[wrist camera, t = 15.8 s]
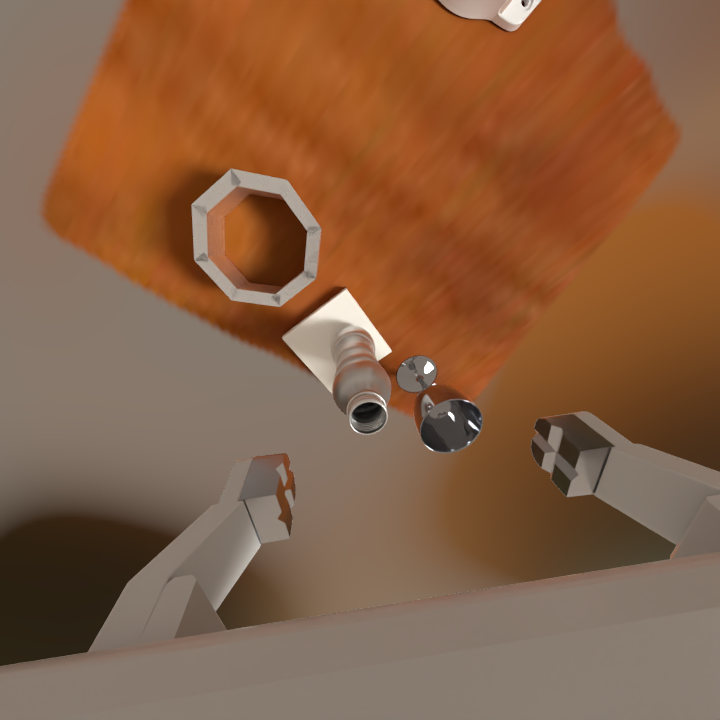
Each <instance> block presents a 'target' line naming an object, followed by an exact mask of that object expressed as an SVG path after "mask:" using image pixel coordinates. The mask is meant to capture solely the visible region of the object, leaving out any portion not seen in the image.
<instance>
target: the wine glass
mask: <svg viewBox="0 0 720 720" xmlns="http://www.w3.org/2000/svg"><path fill="white" fill-rule="evenodd" d="M436 377H437V367H436V364H435V363H434V362H433V360H431V359H430V358H428V357H426V356H413V357H410V358H408V359H407V360H405V361H404V362H403V363H402V364H401V365H400V367H399V369H398V371H397V382H398V384H399V386H400V387H401V388H402V389H403V390H404V391H406V392H409V393H419V394H418V395H417V397H416V399H415V402H414V407H413V413H414V420H415V424H416V427H417V430H418V433H419V435H420V437H421V439H422V441H423V442H424V444H425V445H426V446H427V447H428V448H429V449H431V450H432V451H435V452H438V453H453V452H457V451H460V450H462V449H464V448H466V447H467V446H469V445H470V444H471V443H472V442H474V440H475V439H476V438H477V437H478V435H479V434H480V432H481V429H482V425H483V417H482V414H481V412H480V410H479V409H478V408H477V406H476V405H475V404H474V403H473V402H472V400H471V399H469V398H468V397H467V396H466V395H465V394H464V393H462V392H461V391H460V390H458V389H456V388H454V387H452V386H450V385H447V384H441V383H440V384H433V383H434V382H435V380H436Z"/></svg>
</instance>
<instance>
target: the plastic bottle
mask: <svg viewBox="0 0 720 720" xmlns="http://www.w3.org/2000/svg"><path fill="white" fill-rule="evenodd" d="M331 354H332V358H333V360H334V362H335V364H336V374H335V377H334V381H333V388H332V394H333V399H334V401H335V403H336V405H337V406H338V408H339V409H340V410H341V412H343V413H344V414H345V415H347V417H348V420H349V424H350V426H351V428H352V429H353V430H354V431H355V432H357V433H359V434H362V435H372V434H375V433H377V432H379V431H380V430H381V429H383V427H384V426H385V425H386V423H387V419H388V414H387V409H386V406H387V404H388V402H389V399H390V395H391V381H390V379H389V376H388V375H387V373H386V371H385V370H384V368H383V367H382V366H381V365H380V364H379V362H378V361H377V359H376V356H375V342H374V340H373V338H372V336H371V335H370V333H369V332H368V331H366V330H365V329H363V328H362V327H359V326H347V327H344V328H342V329H341V330H339V331H338V332H337V334H336V335H335V337H334V339H333V341H332V344H331Z"/></svg>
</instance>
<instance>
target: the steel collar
mask: <svg viewBox="0 0 720 720" xmlns="http://www.w3.org/2000/svg"><path fill="white" fill-rule="evenodd" d="M250 194H254V195H259V196H264V197H269V198H275V199H280V200H285V201H286V203H287V204H288V205H289V207H290V208H291V210H292V211H293V212H294V214H295V215H296V216H297V218H298V219H299V221H300V222H301V223H302V225H303V226H304V227H305V229H306V230H307V241H306V253H305V264H304V270H303V271H302V272H300V273H299V274H298V275H297V276H295V277H294V278H293V279H292V280H290V281H289V282H288V283H287V284H285V285H284V286H283V287H280V286H273V285H266V284H259V283H253V282H249V281H248V280H247V279H246V278H245V277H244V276H243V274H242V273H241V272H240V271H239V270H238V269H237V268H236V266H235V265H234V264H233V263H232V262H231V261H230V260H229V258H228V257H227V256H226V255H225V230H224V217H225V216H226V215H227V214H228V213H230V212H231V211H232V210H233V209H234V208H235V207H236V206H238V205H239V204H240V203H241V202H242V201H243V200H244V199H246V198H247V197H248V196H249V195H250ZM191 205H192V225H193V245H194V261H195V262H196V263H197V264H198V265H199V266H200V267H201V268H202V269H203V270H204V271H205V272H206V273H207V274H208V276H209V277H210V278H211V279H212V280H213V281H214V282H215V283H216V284H217V285H218V286H219V287H220V288H221V290H222V291H223V292H224V293H225V294H226V295H227V296H228V297H229V298H230V299H231V300H233V301H240V302H248V303H255V304H262V305H270V306H277V307H280V306H281V305H283V304H284V303H285V302H287V301H288V300H289V299H290V298H292V297H293V296H294V295H296V294H297V293H298V292H299V291H301V290H302V289H303V288H305V287H306V286H307V285H308V284H310V283H311V282H312V281H314V280H315V279H316V276H317V271H318V262H319V252H320V242H321V233H322V229H321V227H320V226H319V224H318V223H317V222H316V220H315V219H314V217H313V216H312V214H311V213H310V212H309V210H308V209H307V207H306V206H305V205H304V203H303V202H302V200H301V199H300V197H299V196H298V195H297V193H296V192H295V190H294V189H293V188H292V186H291V185H290V183H289V182H288V180H285V179H280V178H275V177H270V176H265V175H260V174H255V173H250V172H245V171H240V170H235V169H230V170H229V171H228V172H227V173H226V174H225V175H223V176H222V177H221V178H220V179H219V180H218V181H217V182H216V183H215V184H213V185H212V186H211V187H210V188H209V189H208V190H207V191H206V192H205V193H204V194H202V195H201V196H200V197H199V198H198V199H197V200H196V201H195V202H194V203H192V204H191Z"/></svg>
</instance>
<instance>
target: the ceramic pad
mask: <svg viewBox="0 0 720 720" xmlns="http://www.w3.org/2000/svg"><path fill="white" fill-rule="evenodd" d="M347 326H359V327H362V328H363V329H365V330H366V331H368V332H369V333H370V335H371V336H372V338H373V340H374V342H375V356H376V359H377V361H379V360H380V359H382V358H383V357H384V356H386V355H387V354H389V353H390V352H392V350H391V349H390V347H389V346H388V344H387V343H386V342H385V340H384V339H383V338H382V336H381V335H380V333H379V332H378V331H377V329H376V328H375V327H374V325H373V324H372V322H371V321H370V320H369V318H368V317H367V316H366V314H365V313H364V312H363V310H362V309H361V307H360V306H359V305H358V303H357V302H356V301H355V299H354V298H353V296H352V295H351V294H350V292H349V291H348V290H347V288H344V289H343V290H342V291H340V292H339V293H338V294H337V295H335V296H334V297H333V298H331V299H330V300H329V301H327V302H326V303H325V304H323V305H322V306H321V307H319V308H318V309H317V310H315V311H314V312H313V313H311V314H310V315H309V316H308V317H306V318H305V319H304V320H302V321H301V322H300V323H298V324H297V325H296V326H294V327H293V328H292V329H290V330H289V331H288V332H286V333H285V334H284V335H283V336H282V339H283V340H284V341H285V342H286V344H287V345H288V346H289V347H290V348H291V349H292V350H293V351H294V352H295V353H296V355H297V356H298V357H299V358H300V359H301V360H302V361H303V362H304V363H305V365H306V366H307V367H308V368H309V369H310V370H311V371H312V372H313V373H314V374H315V376H316V377H317V378H318V379H319V380H320V381H321V382H322V383H323V384H324V386H325V387H326V388H327V389H328V390H329V391H330V392H331V393H332V388H333V381H334V377H335V374H336V364H335V362H334V360H333V358H332V354H331V344H332V341H333V339H334V337H335V335H336V334H337V332H338V331H339V330H341V329H342V328H344V327H347Z"/></svg>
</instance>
